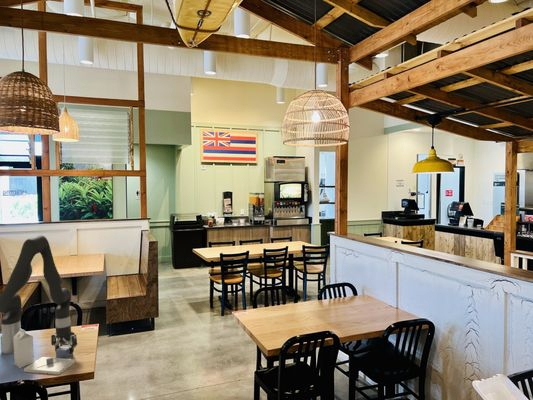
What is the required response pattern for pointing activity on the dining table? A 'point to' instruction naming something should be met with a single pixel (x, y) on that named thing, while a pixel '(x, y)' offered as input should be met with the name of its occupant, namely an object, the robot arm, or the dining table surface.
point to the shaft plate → (49, 365)
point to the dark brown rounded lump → (68, 341)
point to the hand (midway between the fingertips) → (64, 352)
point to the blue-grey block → (63, 352)
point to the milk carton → (23, 348)
